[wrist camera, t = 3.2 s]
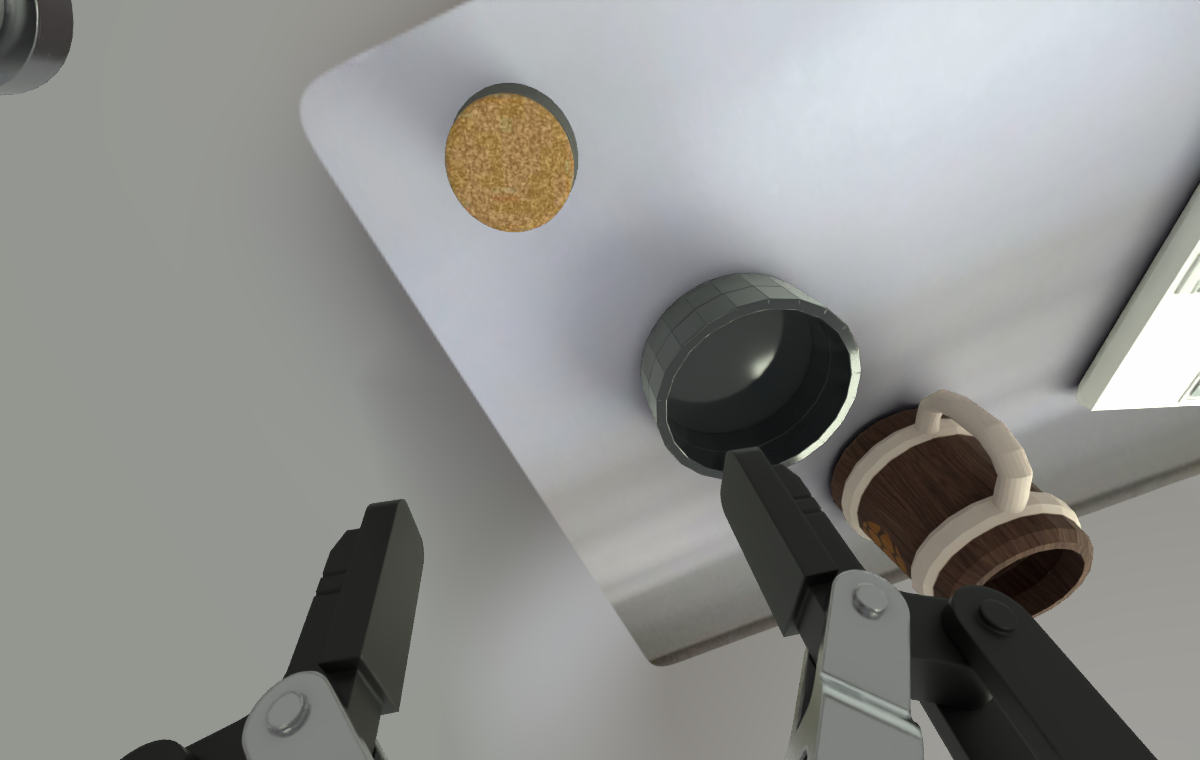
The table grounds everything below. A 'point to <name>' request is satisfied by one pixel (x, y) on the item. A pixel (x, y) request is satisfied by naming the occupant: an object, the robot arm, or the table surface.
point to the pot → (748, 372)
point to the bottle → (511, 157)
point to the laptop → (1155, 332)
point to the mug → (960, 505)
